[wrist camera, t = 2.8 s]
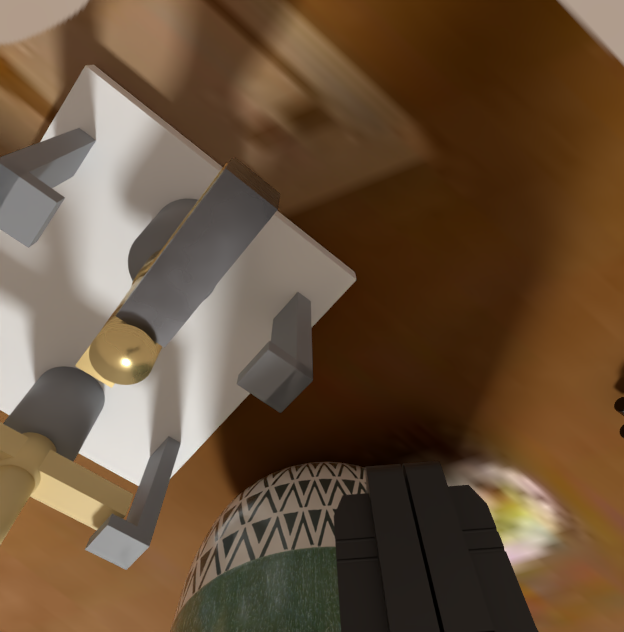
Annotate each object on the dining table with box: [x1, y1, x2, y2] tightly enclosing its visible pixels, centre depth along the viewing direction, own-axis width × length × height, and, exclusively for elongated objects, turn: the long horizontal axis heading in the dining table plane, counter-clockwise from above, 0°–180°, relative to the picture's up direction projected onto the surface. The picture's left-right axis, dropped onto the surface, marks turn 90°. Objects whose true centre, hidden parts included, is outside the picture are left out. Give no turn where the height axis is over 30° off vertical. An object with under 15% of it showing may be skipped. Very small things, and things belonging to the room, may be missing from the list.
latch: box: [75, 157, 280, 388], centre depth 22 cm, size 14×2×8 cm, turn 140°
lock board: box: [0, 65, 357, 570], centre depth 28 cm, size 22×18×14 cm
